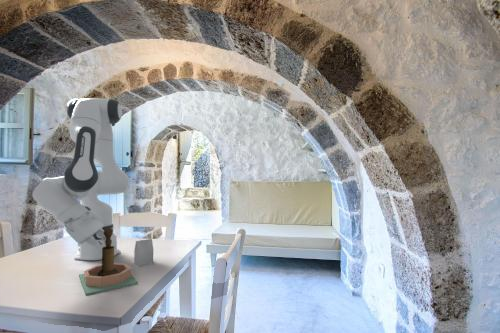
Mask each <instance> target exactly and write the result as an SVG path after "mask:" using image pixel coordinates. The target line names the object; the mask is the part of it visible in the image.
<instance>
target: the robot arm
mask: <svg viewBox="0 0 500 333" xmlns="http://www.w3.org/2000/svg"><path fill="white" fill-rule="evenodd" d="M66 113H67V116H68V119H70V122H69V138H70V140H71V141H72V142H74V144H75V145H74V151H73V159H72V160H71V161H72V162H70V164H69V165H68V166H67V168H66V169H65V171H64V175H63V176H57V177H45V178H43V179H41V180H40V181H39V182H38V183H37V184H36V185H35V186H34V188H32V195H31V196H32V198H33V199H34V200H35V202H36V204H38V205H39V206H40V207H41V208H42V209H43V210H44V211H46V212H47V213H49V214H50V215H52V216H53V217H54V219H55V220H56V222H57V223H59V224H60V225H62V226H63V228H64V229H65V232H66V233H67V234H68V235H69V236H70V237H71V239H73V241H75V242H76V243H77V247H78V249H77V251H76V253H75V256H74V260H76V261H77V260H80V261H98V260H99V261H100V260H102V248H103V247H106V244H105V241H106V237H105V235H104V230H105V229H107V228H111V229H112V230H113V231H114V228H115V227H114V224H113V208H112V206H111V205H110V204H108V203H107V202H104V201H101V200H99V198H98V196H101V195H104V196H106V195H110V196H111V195H119V194H123V193H124V194H125V193H126V192H127V191H128V190H129V188H130V186H131V181H130V177H129V175H128V174H127V173H126V172H124V171H123V170H122V169H121V168H120V167H119V166H118V164H117V162H116V159H115V153H114V133H113V131H114V130H113V127H115V126H116V124H117V123H119V122H120V120H122V116H123V109H122V106H121V103H120V102H119V101H118V100H117V99H114V98H102V97H101V98H100V97H92V98H73V99H70V100H69V101H68V102H67V104H66ZM96 165H98V166H99V167H100V168H101V170H97V167H96ZM111 240H112V243H111V246H114V256H116V255H118V254H121V252H122V251H121V250H120V249H118V241H117V240H118V238H117V235H116V234H115V233H113V234H112V236H111Z"/></svg>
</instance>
